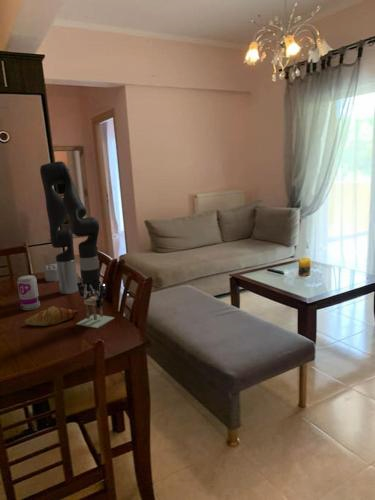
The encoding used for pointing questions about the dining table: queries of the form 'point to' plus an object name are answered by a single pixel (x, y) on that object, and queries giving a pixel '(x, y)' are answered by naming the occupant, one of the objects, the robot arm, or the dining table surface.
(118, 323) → the dining table surface
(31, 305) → the supplement can
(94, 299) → the stool
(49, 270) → the egg container
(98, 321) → the mat
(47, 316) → the croissant
